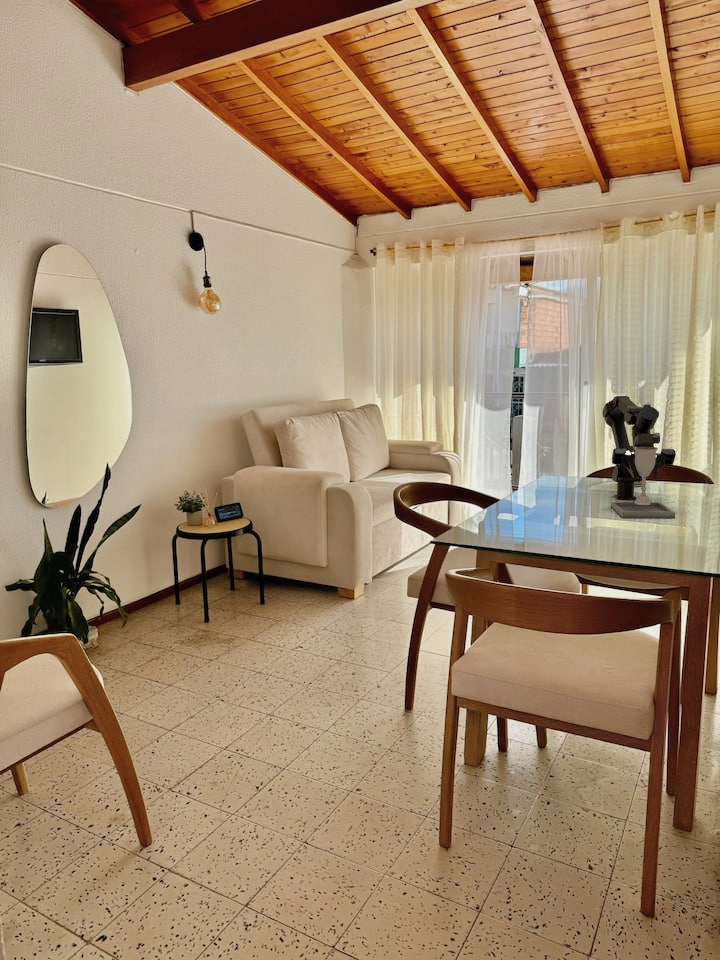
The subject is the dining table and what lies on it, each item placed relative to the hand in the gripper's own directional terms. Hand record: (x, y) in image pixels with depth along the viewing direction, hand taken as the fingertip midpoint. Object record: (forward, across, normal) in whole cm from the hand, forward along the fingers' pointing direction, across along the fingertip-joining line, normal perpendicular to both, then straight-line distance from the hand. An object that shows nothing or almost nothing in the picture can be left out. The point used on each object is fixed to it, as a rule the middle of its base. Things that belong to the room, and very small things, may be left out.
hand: (644, 478), depth 217 cm
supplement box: (-26, +2, +44) cm, 51 cm away
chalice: (+5, 0, +7) cm, 9 cm away
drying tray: (+7, 0, +10) cm, 12 cm away
